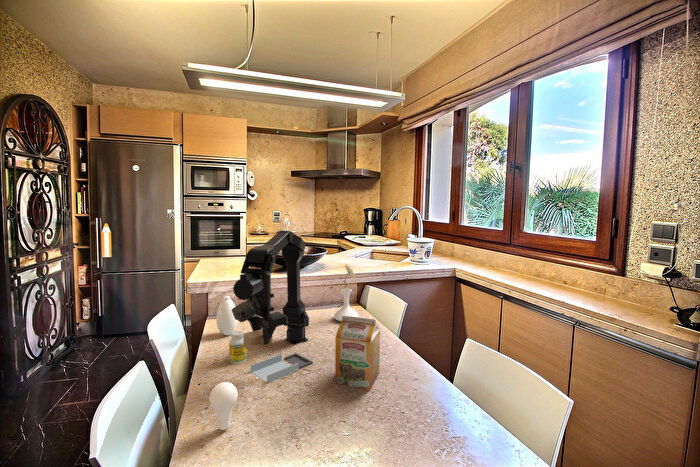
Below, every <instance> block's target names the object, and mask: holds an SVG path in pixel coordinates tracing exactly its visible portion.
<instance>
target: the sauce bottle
mask: <svg viewBox="0 0 700 467" xmlns="http://www.w3.org/2000/svg"><path fill="white" fill-rule="evenodd" d="M222 297H223V296H222ZM234 307H236V305H235V302H234V301H233V300H232V299H231V296H229V295H228V290H226V291H225V296H224V297H223V298H222V300H221V302H220V304H219V307H218V309H217V312H216V326H217V329H218V331H219V332H220V333H221V334H222V335H224V336H231V333H232V332H234V331H236V329H237V326H238V323H239V321H238V320H235V318H234V315H233V313H232V309H233V308H234Z"/></svg>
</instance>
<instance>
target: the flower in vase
mask: <svg viewBox="0 0 700 467" xmlns="http://www.w3.org/2000/svg"><path fill="white" fill-rule="evenodd" d="M344 267H345V270H346V272H347V274H346V276H345V279H344V280H343V283H344V288H342V289H340V291H341V293H342V295H343V306H342V307H341V308H339V309H338V310H336V312H335V313H334V314H333V318H334V319H335V320H336V321H338V322H341V321H342V316H343V315H346V316H354V317H360V316H359V314H358V312H357V311H355V310H354V309H353V308H352V307H351V306H350V295H351V293H352V291H353V289H351V288H347V287H348V286H349V285H351V284H350V283H348V284H346V280H347V278H348V276H350V277H351V279H353V280H356V274H355V273H354V270H353V269H352V268H351V267H350V265H348V264H345V265H344Z"/></svg>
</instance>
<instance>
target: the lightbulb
mask: <svg viewBox="0 0 700 467" xmlns="http://www.w3.org/2000/svg"><path fill="white" fill-rule="evenodd" d="M238 392H239V391H238V390H237V387H236V386H235V385H234V384H233V383H232V382H229V381H228V382H227V381H223V382H220V383H218V384H216V385H215V386H214V387H213V388H212V390H211V391H210V393H209V398H208V399H209V404H210V407H212V410H214V412H215V414H216V420H217V423H218V425H217V426H218V429H219V430H221V431H225V430H227V429H229V428H230V426H231V419H232V412H233V409H234V406H235V405H236V403H237V401H238V398H239V397H238V396H239V393H238Z"/></svg>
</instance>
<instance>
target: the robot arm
mask: <svg viewBox="0 0 700 467" xmlns="http://www.w3.org/2000/svg"><path fill="white" fill-rule="evenodd" d="M305 249H306V242H305V241H304V240H303V238H302V237H301V236H300V235H297V234H295V233H294V232H293V231H291V230H284V229H283V230H278V231H276V234H275V235H273V236H272V237H271V238H270V239H269V240H267V241H266V242H265V243H264V244H262V245H258V246H257V245H256V246H254V247H251V248H250V249H249V250H248V251H247V253H246V255H245V257H244V258H245V259H244V261H243V264H242V268H241V269H240V273H241V274H240V275H239V279H238V280H236V281H235V283H234V285H233V288H232V289H233V290H232V291H233V293H234V295H235V297H236V298H237V299H239V300H241V301H243V302H241V303H239V304H237V305H235V307H234V308H233V309H232V313H233V315H234V318H235V320H238V323H239V322H240V323H244V322H246V321H247V322H249V325H250V327H251V330H252V331H256V330H260V329H262V330H263V339H264V344H265V345H266V344H268V343H269V341H270V339H271V337H272V338H273V335H274V333H275V330H276V329H277V328H278V327H281V326H284V327H287V329H286V338H285V339H284V341H286V342H288V343H290V344H292V345H295V346H297V345H298V344H301V343H302V344H303V343H304V342H308V341H309V338H307V337H306V328H307V327H309V326H310V317H309V315H308V313H307V311H306V305H305V304H304V302H303V301H302V299H301V260H302V258H303V257H304V255H305ZM280 252H281V256H282V258H283V259H284V262H286V283H287V284H286V286H287V289H286V290H287V291H286V292H287V302H286V303H285V305H284V306H283V307H282V312H280V311H275V307H274V306H272V298H275V294H274V293H272V285H271V284H272V279H271V278H272V276H271V275H272V273H274V271H273V266H274V264H275V263H276V261H277V260H276V256H277V255H278V254H279V253H280ZM274 311H275V312H274ZM252 331H251V332H252Z"/></svg>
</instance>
